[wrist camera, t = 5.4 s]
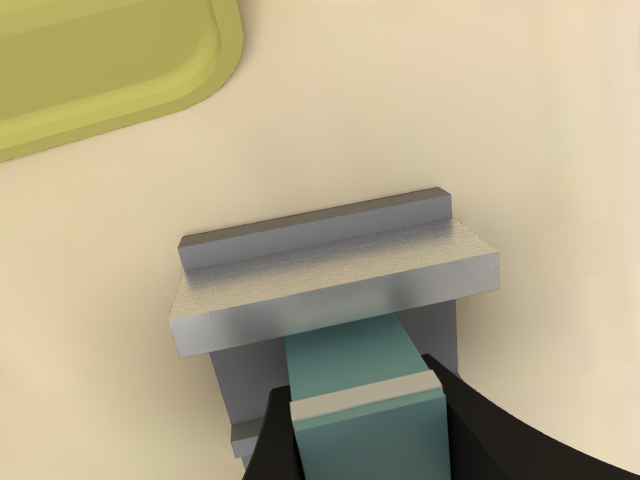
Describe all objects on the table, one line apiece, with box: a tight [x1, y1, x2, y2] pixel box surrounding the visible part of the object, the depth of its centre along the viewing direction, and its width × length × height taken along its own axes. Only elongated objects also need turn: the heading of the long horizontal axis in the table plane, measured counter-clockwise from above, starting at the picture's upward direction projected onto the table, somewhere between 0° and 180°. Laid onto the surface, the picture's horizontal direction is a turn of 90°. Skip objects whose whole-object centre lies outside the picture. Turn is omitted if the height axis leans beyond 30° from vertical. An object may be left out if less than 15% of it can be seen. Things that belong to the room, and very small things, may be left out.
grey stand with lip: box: [178, 187, 463, 471], centre depth 16 cm, size 10×9×2 cm
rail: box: [168, 217, 499, 359], centre depth 13 cm, size 1×9×3 cm, turn 99°
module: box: [284, 312, 451, 480], centre depth 13 cm, size 4×4×5 cm
